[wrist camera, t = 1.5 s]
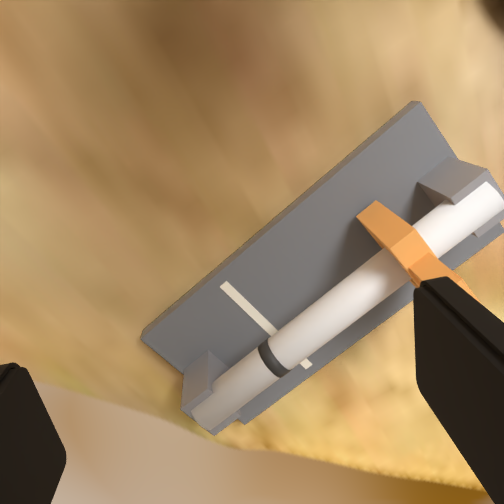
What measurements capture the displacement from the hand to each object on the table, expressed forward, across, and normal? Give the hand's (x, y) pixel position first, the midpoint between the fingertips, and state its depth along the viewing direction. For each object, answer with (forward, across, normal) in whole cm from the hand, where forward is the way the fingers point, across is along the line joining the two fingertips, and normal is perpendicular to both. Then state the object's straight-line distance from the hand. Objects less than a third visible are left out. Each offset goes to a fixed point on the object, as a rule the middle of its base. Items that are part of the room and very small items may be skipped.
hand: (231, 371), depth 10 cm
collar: (+23, -13, +8) cm, 27 cm away
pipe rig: (+26, -7, +11) cm, 29 cm away
